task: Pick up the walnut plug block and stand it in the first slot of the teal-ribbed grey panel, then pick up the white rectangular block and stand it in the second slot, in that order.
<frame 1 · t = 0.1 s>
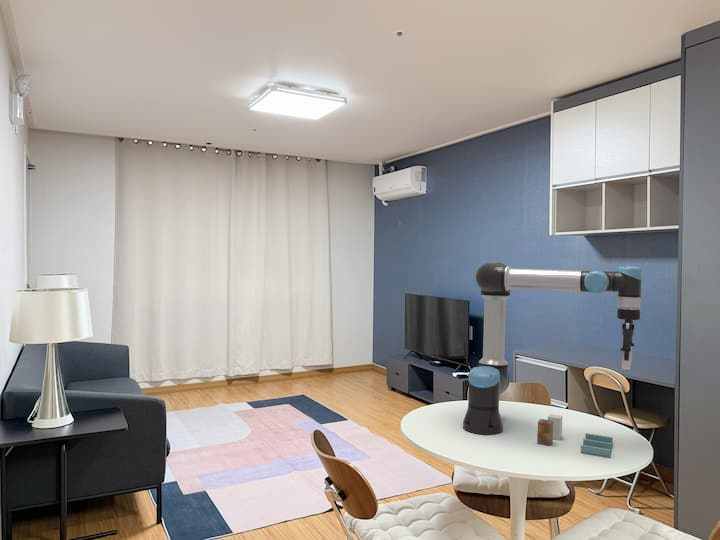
hand: (626, 366, 201), 28 cm above the table, fingers open, 13 cm apart
teal-ribbed grey panel: (597, 448, 193), on the table
walnut plug: (544, 443, 197), on the table
white rectangular block: (554, 437, 204), on the table
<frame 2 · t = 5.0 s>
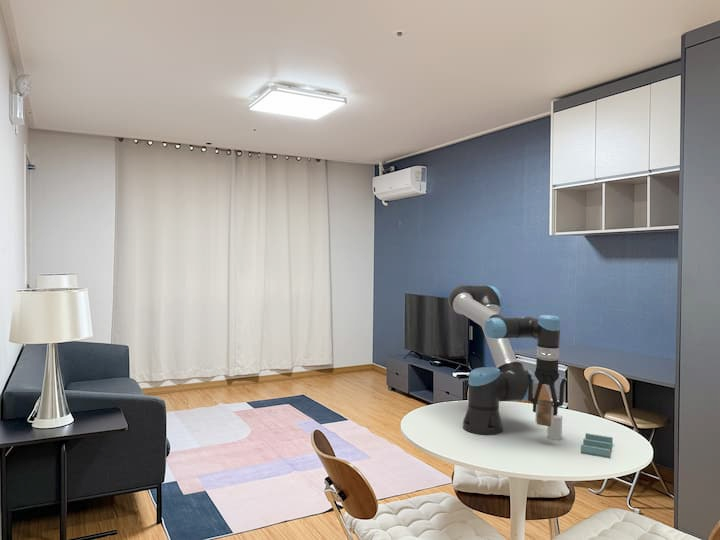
hand: (544, 422, 197), 7 cm above the table, fingers closed on walnut plug, 4 cm apart
walnut plug: (544, 423, 197), point 7 cm above the table, touching gripper
everything else where it was.
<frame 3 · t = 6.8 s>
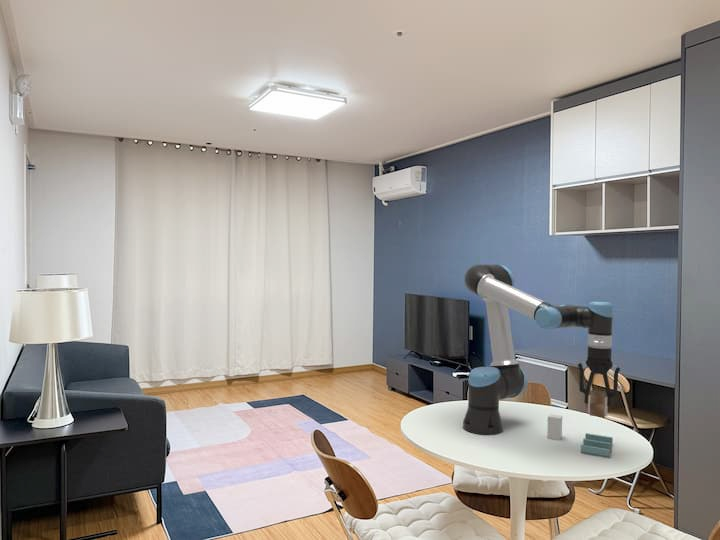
hand: (597, 413, 189), 13 cm above the table, fingers closed on walnut plug, 4 cm apart
walnut plug: (597, 414, 189), point 13 cm above the table, touching gripper
everything else where it was.
when the fingers open (1 cm above the table, at t = 9.1 s): walnut plug stays where it is, resting on teal-ribbed grey panel.
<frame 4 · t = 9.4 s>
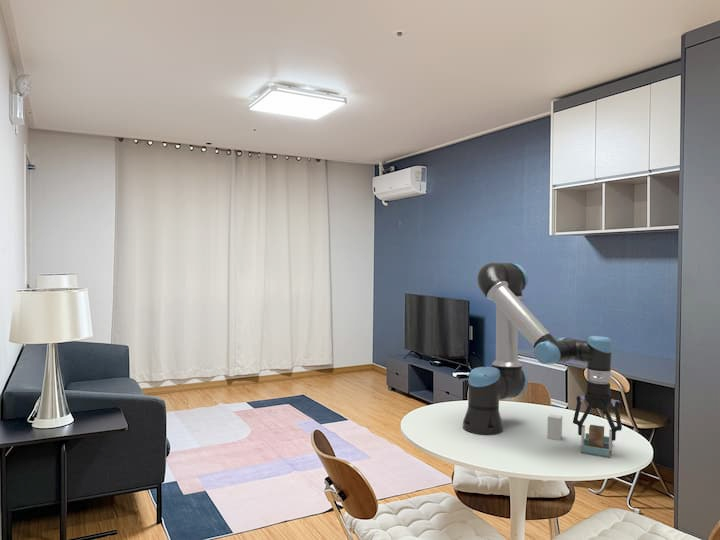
hand: (596, 447, 189), 2 cm above the table, fingers open, 8 cm apart
walnut plug: (596, 450, 189), point 1 cm above the table, touching teal-ribbed grey panel
everything else where it was.
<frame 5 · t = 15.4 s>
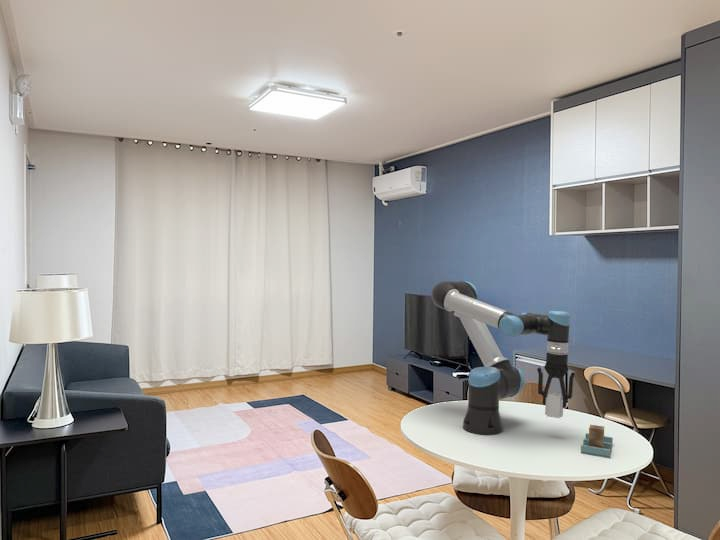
hand: (553, 414, 204), 8 cm above the table, fingers closed on white rectangular block, 4 cm apart
white rectangular block: (553, 415, 204), point 8 cm above the table, touching gripper
everything else where it was.
when the fingers open (1 cm above the table, at t = 19.4 s): white rectangular block stays where it is, resting on teal-ribbed grey panel.
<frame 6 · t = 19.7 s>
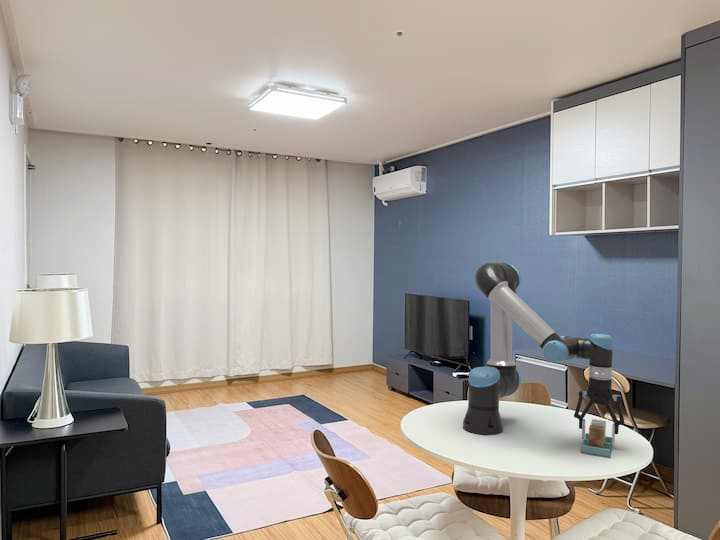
hand: (598, 440, 196), 2 cm above the table, fingers open, 9 cm apart
white rectangular block: (597, 443, 196), point 1 cm above the table, touching teal-ribbed grey panel
everything else where it was.
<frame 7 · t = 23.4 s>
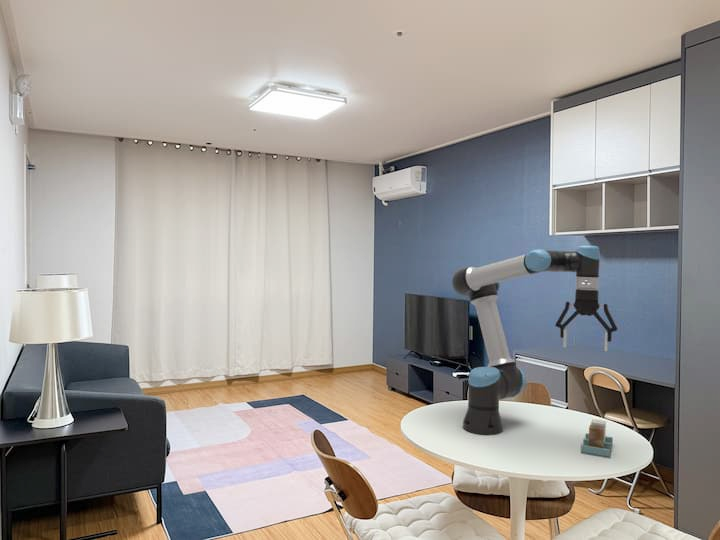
hand: (585, 349, 194), 35 cm above the table, fingers open, 13 cm apart
nothing on the table moved.
at the end: walnut plug inside the target area (0.2 cm from its centre), point 0.6 cm above the table; white rectangular block inside the target area (0.0 cm from its centre), point 0.6 cm above the table; the gripper is holding nothing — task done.
